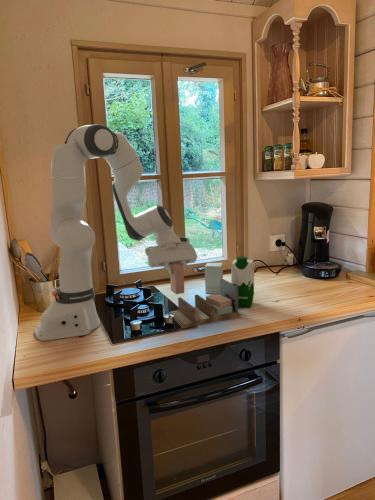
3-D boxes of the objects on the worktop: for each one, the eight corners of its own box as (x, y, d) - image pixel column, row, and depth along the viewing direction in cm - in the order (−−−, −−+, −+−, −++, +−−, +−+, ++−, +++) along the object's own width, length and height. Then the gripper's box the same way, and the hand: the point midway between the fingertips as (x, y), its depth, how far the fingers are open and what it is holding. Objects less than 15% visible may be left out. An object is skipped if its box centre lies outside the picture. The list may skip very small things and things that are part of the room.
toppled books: (217, 315, 139) (217, 303, 138) (205, 306, 148) (205, 295, 147) (233, 312, 141) (233, 300, 140) (220, 304, 151) (220, 293, 150)
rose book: (176, 294, 149) (175, 266, 146) (170, 290, 154) (169, 263, 152) (184, 293, 150) (183, 265, 148) (178, 289, 155) (177, 262, 153)
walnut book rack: (182, 328, 132) (181, 310, 131) (168, 315, 145) (168, 299, 143) (240, 316, 140) (240, 300, 139) (222, 305, 153) (222, 290, 152)
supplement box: (221, 294, 168) (221, 266, 166) (205, 293, 170) (204, 266, 167) (223, 289, 175) (222, 262, 173) (207, 288, 177) (206, 262, 174)
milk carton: (230, 308, 150) (229, 258, 146) (233, 300, 159) (233, 253, 155) (252, 309, 148) (252, 259, 144) (255, 301, 156) (254, 254, 152)
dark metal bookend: (235, 312, 140) (235, 287, 139) (220, 303, 151) (219, 279, 149) (238, 312, 141) (238, 286, 139) (223, 302, 152) (222, 278, 150)
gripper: (145, 242, 151) (153, 271, 143) (192, 238, 158) (202, 265, 151) (142, 251, 155) (150, 280, 148) (188, 246, 163) (198, 273, 156)
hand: (177, 272), depth 150 cm, fingers closed on rose book, 3 cm apart
